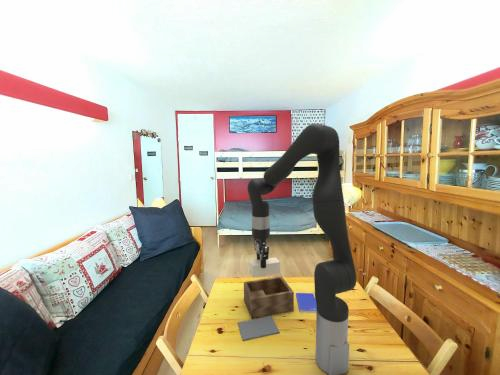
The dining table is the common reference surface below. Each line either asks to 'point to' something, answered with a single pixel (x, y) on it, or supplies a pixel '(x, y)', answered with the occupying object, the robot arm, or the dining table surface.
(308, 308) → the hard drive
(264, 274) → the block
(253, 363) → the dining table surface
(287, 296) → the wooden box
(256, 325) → the mat
